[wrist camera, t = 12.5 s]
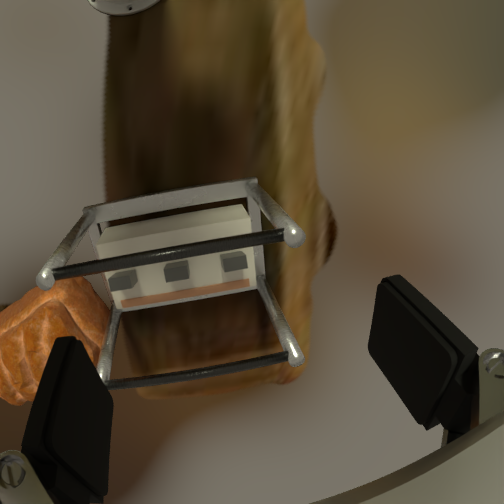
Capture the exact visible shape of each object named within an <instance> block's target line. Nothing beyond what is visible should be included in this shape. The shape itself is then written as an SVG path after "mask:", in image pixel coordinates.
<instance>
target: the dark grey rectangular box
mask: <svg viewBox="0 0 504 504" xmlns="http://www.w3.org/2000/svg"><path fill="white" fill-rule="evenodd" d="M163 270H164V275H165V280H166V283H167V282H173V281H179V280H185V279H189V277H190V270H189V264H188V260H185V261H179V262H174V263H168V264H166V265H165V267H164V269H163Z"/></svg>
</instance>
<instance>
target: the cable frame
mask: <svg viewBox="0 0 504 504" xmlns="http://www.w3.org/2000/svg"><path fill="white" fill-rule="evenodd" d="M243 197H246V203H247V213H248V215H249V216H250V220H251V230H252V233H247V234H241V235H235V236H229V237H223V238H217V239H211V240H205V241H200V242H194V243H188V244H182V245H176V246H171V247H165V248H159V249H154V250H148V251H143V252H137V253H131V254H126V255H120V256H115V257H110V258H104V259H100V257H99V254H98V251H97V247H96V244H97V242H98V240H99V238H100V236H101V235H102V232H101V228H100V224H99V223H101V222H106V221H111V220H116V219H121V218H126V217H131V216H136V215H141V214H147V213H152V212H158V211H163V210H169V209H174V208H180V207H186V206H192V205H198V204H204V203H210V202H216V201H223V200H229V199H236V198H243ZM260 209H261V210H262V212H263V213H264V214H265V216H266V217H267V218H268V220H269V221H270V222H271V223H272V225H273V226H274V227H275V229H272V230H266V231H262V229H261V217H260ZM87 230H88V232H89V236H90V239H91V243H92V246H93V249H94V253H95V256H96V259H97V260H94V261H88V262H83V263H78V264H73V265H67V266H65V264H66V263H67V261H68V260H69V258H70V256H71V255H72V253H73V252H74V250H75V249H76V247H77V246H78V244H79V242H80V241H81V239H82V238H83V236H84V235H85V233H86V232H87ZM305 238H306V236H305V233H304V231H303V230H302V229H301V228H300V227H299V226H298V225H297V224H296V223H295V222H294V221H293V220H292V219H291V218H290V217H289V215H288V214H287V213H286V212H285V211H284V210H283V209H282V208H281V207H280V206H279V205H278V204H277V203H276V202H275V201H274V200H273V199H272V198H271V197H270V196H269V195H268V194H267V193H266V192H265V191H264V190H263V189H262V188H261V187H260V186H259V185H258V181H257V178H256V177H249V178H242V179H234V180H227V181H221V182H214V183H207V184H201V185H195V186H189V187H183V188H177V189H171V190H166V191H160V192H155V193H149V194H144V195H139V196H134V197H129V198H124V199H119V200H114V201H110V202H105V203H100V204H96V205H91V206H87V207H84V209H83V215H82V217H81V218H80V219H79V221H78V222H77V223H76V224H75V225H74V227H73V228H72V229H71V230H70V232H69V233H68V234H67V235H66V237H65V238H64V239H63V241H62V242H61V243H60V245H59V246H58V247H57V249H56V250H55V251H54V253H53V254H52V256H51V257H50V258H49V259H48V261H47V262H46V264H45V265H44V266H43V268H42V269H41V271H40V272H39V274H38V275H37V277H36V284H37V286H38V287H39V288H40V289H42V290H44V291H48V290H50V289H51V288H52V286H53V285H54V283H55V281H58V280H64V279H70V278H75V277H81V276H86V275H92V274H98V273H101V275H102V278H103V281H104V284H105V287H106V289H107V292H108V295H109V298H110V301H111V304H112V306H111V310H110V314H109V318H108V321H107V325H106V329H105V334H104V338H103V342H102V346H101V351H100V355H99V360H98V364H97V369H96V370H97V372H98V373H99V375H100V377H101V379H102V381H103V382H104V384H105V386H106V388H107V389H108V390H116V389H126V388H136V387H145V386H153V385H161V384H168V383H175V382H182V381H189V380H195V379H201V378H207V377H213V376H219V375H224V374H229V373H235V372H240V371H245V370H250V369H254V368H259V367H264V366H268V365H273V364H277V363H281V362H286V361H289V363H290V365H291V366H293V367H297V366H300V365H302V364H303V363H304V361H305V357H304V355H303V353H302V351H301V349H300V347H299V345H298V343H297V341H296V339H295V337H294V335H293V333H292V331H291V329H290V327H289V325H288V323H287V321H286V319H285V317H284V315H283V313H282V311H281V309H280V307H279V305H278V303H277V301H276V299H275V297H274V295H273V293H272V291H271V289H270V286H269V284H268V282H267V280H266V278H265V267H264V254H263V245H265V244H271V243H276V242H282V241H285V242H286V243H287V245H288V246H290V247H292V248H297V247H299V246H301V245H302V244H303V243H304V241H305ZM247 247H253V251H254V262H255V272H256V283H257V286H252V287H246V288H241V289H236V290H230V291H225V292H219V293H214V294H208V295H202V296H197V297H191V298H185V299H179V300H173V301H167V302H161V303H155V304H149V305H143V306H136V307H130V308H123V309H117V308H116V305H115V303H114V300H113V297H112V294H111V291H110V288H109V285H108V282H107V279H106V276H105V273H104V272H109V271H115V270H120V269H126V268H132V267H137V266H143V265H149V264H155V263H160V262H166V261H172V260H177V259H183V258H189V257H195V256H201V255H206V254H212V253H218V252H224V251H230V250H235V249H241V248H247ZM253 289H258V291H259V294H260V296H261V298H262V301H263V303H264V305H265V308H266V310H267V312H268V315H269V317H270V319H271V322H272V324H273V326H274V329H275V331H276V333H277V336H278V338H279V340H280V342H281V345H282V347H283V349H284V351H283V352H279V353H274V354H270V355H265V356H261V357H256V358H251V359H246V360H241V361H236V362H231V363H226V364H221V365H215V366H209V367H204V368H198V369H191V370H185V371H179V372H172V373H165V374H157V375H150V376H142V377H133V378H124V379H114V380H109V377H110V372H111V365H112V359H113V354H114V348H115V343H116V338H117V332H118V327H119V322H120V318H121V313H122V312H125V311H131V310H138V309H144V308H150V307H156V306H163V305H169V304H175V303H181V302H186V301H192V300H198V299H204V298H209V297H215V296H221V295H226V294H232V293H237V292H242V291H248V290H253Z"/></svg>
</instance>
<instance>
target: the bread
mask: <svg viewBox="0 0 504 504" xmlns="http://www.w3.org/2000/svg"><path fill="white" fill-rule="evenodd" d="M109 314H110V310H109V309H108V307H107V306H106V304H105V303H104V302H103V301H102V299H101V298H100V297H99V296H98V294H97V293H96V292H95V291H94V289H93V287H92V285H91V283H90V282H88V281H87V280H86V279H85V278H84V277H82V276H81V277H75V278H70V279H64V280H58V281H55V283H54V285H53V286H52V288H51V289H50V290H48V291H44V290H42V289H40V288H39V287H38V286H36V287H35V288H33V289H32V290H30V291H28V292H27V293H26V294H25V295H24V296H23V297H22V299H21V300H18V301H15V302H14V303H12V304H11V305H9V306H8V307H7V308H6V309H4V310H3V311H2V312H1V313H0V398H2V399H4V400H6V401H7V402H8V403H10V404H12V405H18V406H21V405H23V404H24V403H25V402H27V401H31V402H32V401H34V398H35V395H36V392H37V389H38V386H39V383H40V380H41V377H42V374H43V371H44V368H45V365H46V363H47V360H48V357H49V354H50V352H51V349H52V347H53V344H54V341H55V339H56V338H57V337H64V336H75V337H76V339H77V340H81V341H82V343H83V345H84V347H85V349H86V351H87V353H88V355H89V356H90V358H91V360H92V362H93V364H94V366H96V365H97V363H98V359H99V355H100V351H101V346H102V342H103V338H104V334H105V329H106V325H107V321H108V318H109Z"/></svg>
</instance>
